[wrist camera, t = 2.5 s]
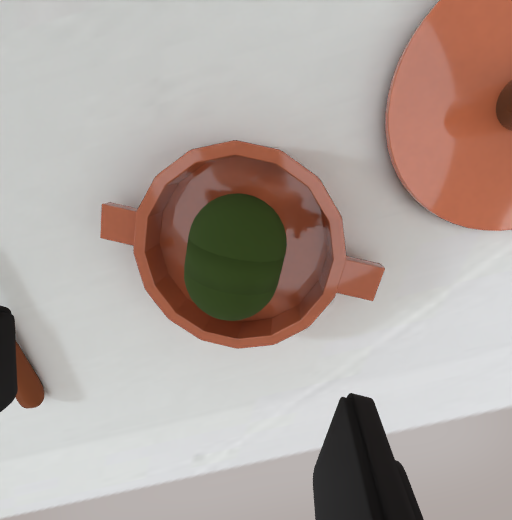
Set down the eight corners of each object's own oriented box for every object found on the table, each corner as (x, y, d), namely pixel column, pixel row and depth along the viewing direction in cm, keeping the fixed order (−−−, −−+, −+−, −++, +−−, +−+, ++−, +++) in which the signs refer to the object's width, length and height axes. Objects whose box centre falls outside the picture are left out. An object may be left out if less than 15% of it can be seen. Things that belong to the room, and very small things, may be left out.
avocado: (209, 180, 21) (180, 187, 15) (296, 199, 21) (299, 214, 15) (193, 286, 23) (163, 326, 18) (270, 304, 23) (264, 350, 17)
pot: (124, 117, 20) (98, 110, 18) (403, 178, 20) (422, 181, 17) (113, 296, 25) (91, 313, 22) (342, 350, 24) (349, 375, 21)
